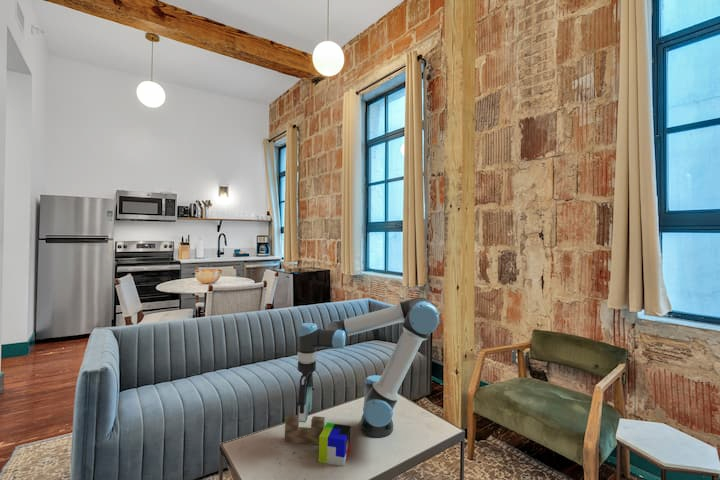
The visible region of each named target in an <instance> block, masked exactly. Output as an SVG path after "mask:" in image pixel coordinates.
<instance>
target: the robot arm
mask: <svg viewBox="0 0 720 480" xmlns="http://www.w3.org/2000/svg"><path fill="white" fill-rule="evenodd" d="M439 321H440V314H439V311H438V309H437V307H435V306H434V304H432V301H430V300H429V299H428V298H425V297H422V296H420V297H419V296H418V297H417V296H416V297H413V298H410V299H407V300H403V301H400V302H398V304H396V305H394V306H391V307H387V308H383V309H379V310H375V311H371V312H367V313H364V314H361V315H360V314H359V315H356V316H353V317H349V318H345V319H341V320H340V319H335V320H332V321H331V322H330V323H328V325H327V328H326V329H325V328H324V329H322V328H318V325H317V324H316V323H314V322H304V323H301V324H300V325H299V329H298V330H299V331H298V352H297V353H296V354H297V360H298V361H297V371H298V372H300V373H301V376H300V379H299V387H298V389H299V390H298V398H297V400H298V401H297V402H296V405H297V407H298V415H299V420H300V421H305V420H306V395H307V388H308V387H311V386H312V391H314V390H315V387H314V377H313V376H314V375H313V374H314V373H313V372H315V371H316V367H317V348H318V349H319V348H321V349H334V350H338V349H340V350H342V349H344V348H345V347H346V337H350V336H352V335H358V334H361V333H365V332H369V331H372V330H376V329H380V328H385V327H387V326H393V325H396V324H401V323H402V325H401V327H402V330H403V331H402V333H401V335H400V337H399V338H398V341H397V344H396V346H395V347H394V349H393V351H392V353H391V356H390V357H389V359H388V361H387V363H386V366H385V368H384V370H383V371H382V374H381V375H369V376H367V377H366V378H365V382H364V401H363V407H362V408H363V409H362V411H363V413H362V416H361V418H360V422H359V429H360V431H361V432H362V433H363V434H365V435H367V436H369V437H372V438H384V437H387V436H390V435H391V434H393V431H394V421H393V416H394V414H393V413H394V411H393V410H394V408H395V406H396V404H397V402H398V400H399V395H398V392H399V390H400V387H401V385H402V383H403V381H404V379H405V377H406V375H407V373H408V371H409V369H410V367H411V365H412V363H413V361H414V359H415V357H416V354H417V353H418V351H419V349H420V347H421V344H422V343H423V341H427V340H428V339H429V337H430V335H431V333H432V332H434V331H436V329H437V328H438V325H439V323H440V322H439Z"/></svg>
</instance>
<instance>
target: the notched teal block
mask: <svg viewBox="0 0 720 480" xmlns="http://www.w3.org/2000/svg"><path fill="white" fill-rule="evenodd" d="M312 388H313V387H312V386H311V387H308V388H307V395H306V420H305V421H300V420H299V419H298V422H299V423H306V422H307V421H308V413H311V411H312V405H313V404H312V403H313V402H312V401H313V390H312Z"/></svg>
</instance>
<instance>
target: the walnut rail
mask: <svg viewBox="0 0 720 480" xmlns="http://www.w3.org/2000/svg"><path fill="white" fill-rule="evenodd" d="M284 419H285V423H284V442H285V443H293V444H294V443H295V444H308V445H319V436H320V434H321V432H322V431H323V429H324V427H325V419H326V418H325V416H318V415H317V416H316V415H314V416H312V418H311V424H310V425H311V427H305V426H299V424H300V422H298V419H299V414H289V413H287V415H286V417H285V418H284Z"/></svg>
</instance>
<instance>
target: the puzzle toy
mask: <svg viewBox="0 0 720 480" xmlns="http://www.w3.org/2000/svg"><path fill="white" fill-rule="evenodd" d="M351 428H352V427H351V425H346V424H339V423H332V422H326V423H325V424H324V429H323V431H322V432H321V434H320V436H319V444H318V463H322V464H323V463H324V464H329V465H334V466H335V465H336V466H342V467H345V464H346V462H347V460H348V456H349V453H350V452H351V451H350V450H351V434H352V433H351V431H352V429H351Z"/></svg>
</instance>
